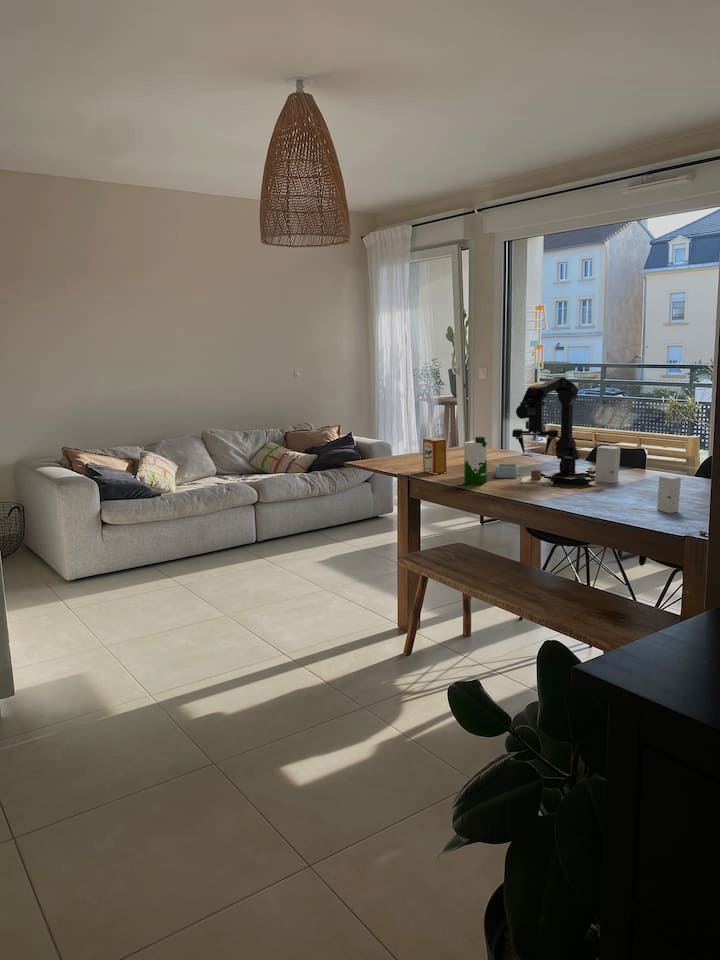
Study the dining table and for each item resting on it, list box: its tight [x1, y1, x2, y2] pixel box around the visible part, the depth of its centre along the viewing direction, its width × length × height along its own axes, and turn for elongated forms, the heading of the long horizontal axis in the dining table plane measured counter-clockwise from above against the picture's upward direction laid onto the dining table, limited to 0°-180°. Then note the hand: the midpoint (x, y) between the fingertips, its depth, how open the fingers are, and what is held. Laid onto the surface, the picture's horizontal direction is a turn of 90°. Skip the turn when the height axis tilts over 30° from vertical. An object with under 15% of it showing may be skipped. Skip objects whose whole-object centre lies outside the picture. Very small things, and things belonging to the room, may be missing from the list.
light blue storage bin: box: [495, 463, 519, 479], centre depth 334 cm, size 9×9×5 cm
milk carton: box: [462, 436, 489, 486], centre depth 320 cm, size 9×9×20 cm
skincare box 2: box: [656, 474, 682, 514], centre depth 261 cm, size 6×4×12 cm
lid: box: [521, 468, 551, 485], centre depth 320 cm, size 12×12×5 cm
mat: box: [517, 477, 554, 486], centre depth 321 cm, size 14×14×1 cm
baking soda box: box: [422, 437, 447, 474], centre depth 350 cm, size 10×6×16 cm
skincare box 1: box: [594, 445, 621, 484], centre depth 315 cm, size 8×6×15 cm
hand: (534, 453), depth 319 cm, fingers open, 9 cm apart
